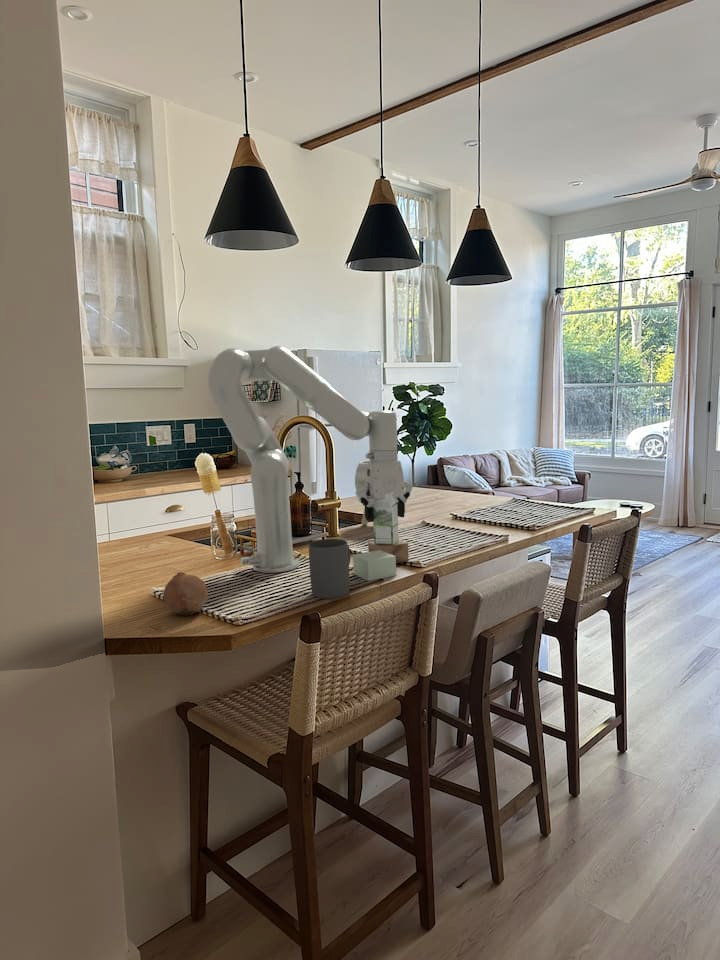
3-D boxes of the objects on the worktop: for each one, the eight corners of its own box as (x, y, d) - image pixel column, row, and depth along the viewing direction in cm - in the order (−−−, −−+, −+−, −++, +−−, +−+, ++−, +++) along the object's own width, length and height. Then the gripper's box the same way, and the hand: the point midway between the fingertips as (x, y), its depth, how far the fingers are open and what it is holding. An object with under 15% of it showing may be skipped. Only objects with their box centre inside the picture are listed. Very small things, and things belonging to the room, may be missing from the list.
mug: (337, 601, 147) (334, 549, 146) (303, 596, 152) (300, 546, 150) (366, 584, 159) (364, 536, 157) (334, 580, 164) (332, 533, 162)
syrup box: (399, 540, 182) (397, 488, 180) (393, 545, 176) (391, 492, 174) (380, 540, 183) (377, 488, 182) (373, 544, 178) (371, 492, 176)
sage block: (368, 580, 162) (367, 561, 161) (353, 573, 169) (352, 554, 168) (396, 575, 165) (395, 556, 165) (380, 568, 173) (379, 550, 172)
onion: (178, 623, 147) (167, 580, 149) (217, 609, 147) (206, 567, 149) (163, 622, 138) (151, 577, 140) (205, 607, 138) (193, 562, 140)
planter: (398, 519, 237) (395, 457, 234) (407, 528, 222) (404, 462, 219) (354, 522, 235) (351, 460, 232) (360, 531, 219) (357, 465, 216)
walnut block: (383, 565, 175) (382, 547, 175) (368, 559, 182) (368, 542, 182) (408, 560, 179) (407, 543, 178) (393, 555, 186) (392, 537, 185)
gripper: (361, 460, 169) (364, 524, 172) (418, 455, 177) (419, 517, 180) (348, 457, 176) (350, 520, 178) (403, 453, 184) (404, 513, 186)
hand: (385, 518), depth 179 cm, fingers open, 9 cm apart
